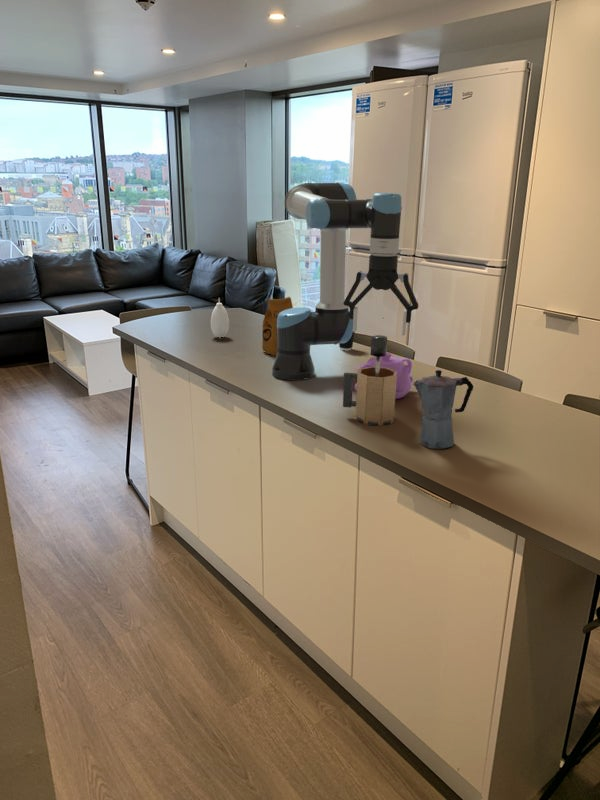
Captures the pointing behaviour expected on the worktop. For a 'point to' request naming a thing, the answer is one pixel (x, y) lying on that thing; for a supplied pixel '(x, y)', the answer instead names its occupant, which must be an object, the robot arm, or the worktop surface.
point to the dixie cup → (347, 344)
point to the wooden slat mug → (372, 395)
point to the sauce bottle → (219, 321)
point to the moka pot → (439, 408)
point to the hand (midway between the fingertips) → (379, 332)
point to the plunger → (378, 350)
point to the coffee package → (273, 323)
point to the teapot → (395, 364)
